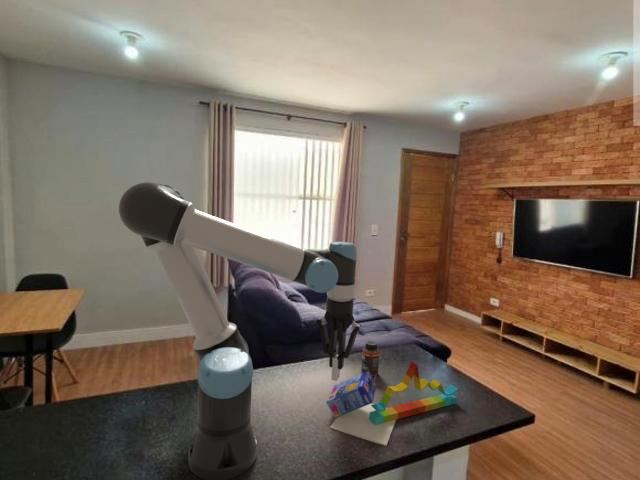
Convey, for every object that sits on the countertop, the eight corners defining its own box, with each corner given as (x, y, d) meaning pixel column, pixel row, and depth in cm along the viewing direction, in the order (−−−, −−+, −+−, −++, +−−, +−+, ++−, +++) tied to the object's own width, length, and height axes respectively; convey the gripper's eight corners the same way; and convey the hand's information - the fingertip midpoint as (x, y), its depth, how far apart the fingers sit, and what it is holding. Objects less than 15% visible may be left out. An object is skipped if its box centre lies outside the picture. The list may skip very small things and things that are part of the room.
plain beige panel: (330, 427, 92) (330, 426, 92) (349, 398, 107) (349, 397, 107) (386, 446, 87) (386, 444, 87) (398, 412, 101) (398, 411, 101)
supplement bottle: (380, 372, 125) (382, 342, 124) (374, 379, 120) (376, 347, 119) (365, 367, 128) (367, 338, 127) (358, 374, 123) (360, 343, 122)
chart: (448, 397, 111) (453, 352, 109) (456, 403, 108) (462, 356, 106) (368, 418, 97) (373, 366, 95) (375, 425, 94) (380, 372, 92)
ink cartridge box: (333, 384, 106) (375, 366, 102) (341, 400, 106) (384, 383, 102) (325, 401, 97) (371, 382, 93) (334, 419, 96) (381, 401, 92)
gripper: (366, 298, 98) (361, 378, 101) (323, 291, 103) (319, 367, 106) (358, 304, 91) (353, 390, 94) (313, 297, 96) (309, 378, 99)
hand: (335, 378), depth 100 cm, fingers closed
